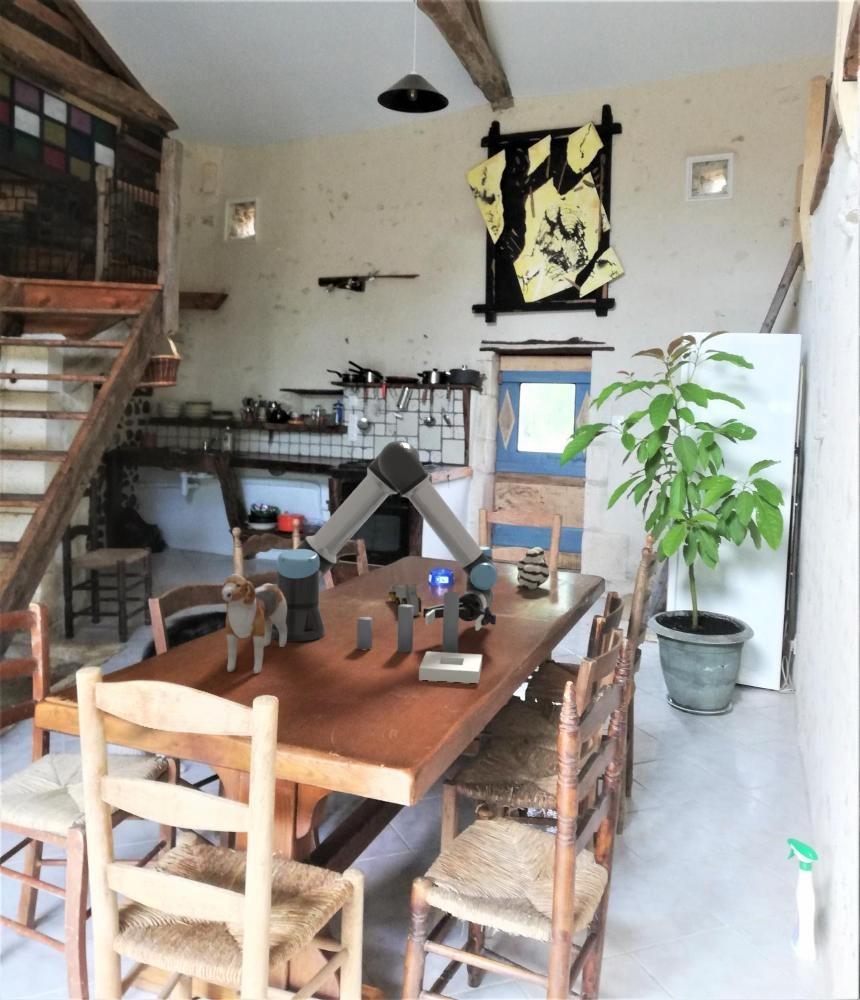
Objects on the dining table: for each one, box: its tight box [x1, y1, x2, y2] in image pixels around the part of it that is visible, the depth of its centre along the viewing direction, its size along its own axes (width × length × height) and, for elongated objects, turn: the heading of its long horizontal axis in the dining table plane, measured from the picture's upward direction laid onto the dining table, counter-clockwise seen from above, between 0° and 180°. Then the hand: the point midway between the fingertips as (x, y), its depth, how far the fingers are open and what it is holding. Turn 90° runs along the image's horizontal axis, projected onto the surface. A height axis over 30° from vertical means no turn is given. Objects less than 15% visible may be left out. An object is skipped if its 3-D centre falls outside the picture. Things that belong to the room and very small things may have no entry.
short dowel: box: [356, 616, 373, 650], centre depth 215 cm, size 4×4×8 cm
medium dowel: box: [397, 604, 414, 653], centre depth 214 cm, size 4×4×12 cm
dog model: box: [220, 573, 288, 675], centre depth 200 cm, size 10×41×25 cm, turn 172°
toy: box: [388, 582, 423, 617], centre depth 264 cm, size 6×24×10 cm, turn 16°
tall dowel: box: [441, 591, 460, 653], centre depth 212 cm, size 4×4×16 cm
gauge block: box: [418, 650, 483, 685], centre depth 196 cm, size 14×14×3 cm
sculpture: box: [516, 546, 550, 590], centre depth 299 cm, size 22×12×15 cm, turn 166°
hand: (451, 622), depth 211 cm, fingers open, 13 cm apart
